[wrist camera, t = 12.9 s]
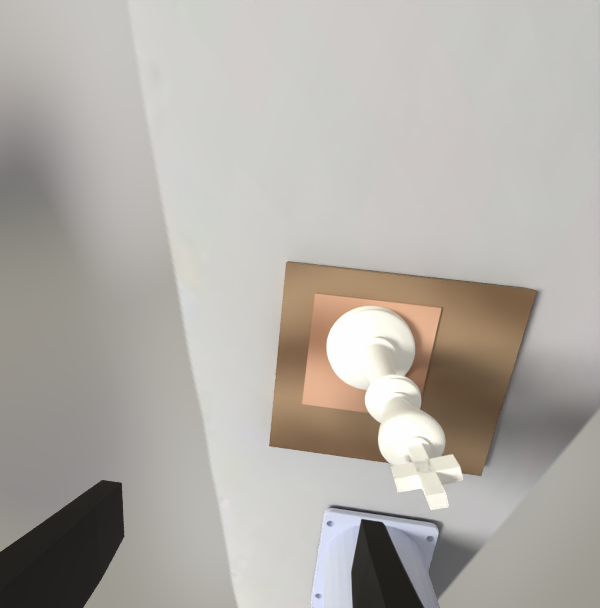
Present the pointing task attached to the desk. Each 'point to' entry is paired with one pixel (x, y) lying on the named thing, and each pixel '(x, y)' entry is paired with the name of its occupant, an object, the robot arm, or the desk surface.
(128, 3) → the desk surface
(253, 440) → the desk surface
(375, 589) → the robot arm
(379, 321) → the chess piece
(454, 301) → the walnut board
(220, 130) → the desk surface
